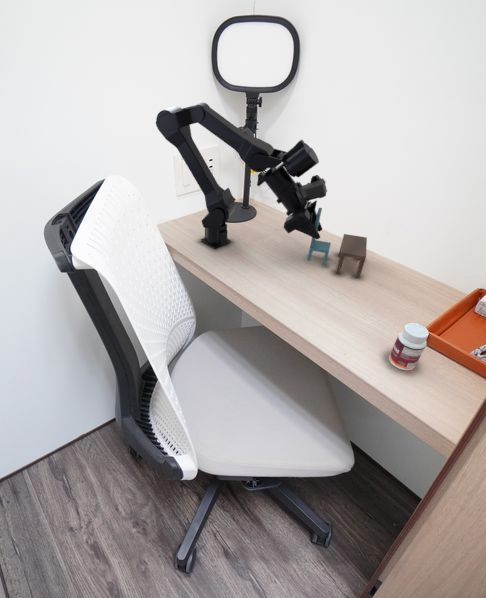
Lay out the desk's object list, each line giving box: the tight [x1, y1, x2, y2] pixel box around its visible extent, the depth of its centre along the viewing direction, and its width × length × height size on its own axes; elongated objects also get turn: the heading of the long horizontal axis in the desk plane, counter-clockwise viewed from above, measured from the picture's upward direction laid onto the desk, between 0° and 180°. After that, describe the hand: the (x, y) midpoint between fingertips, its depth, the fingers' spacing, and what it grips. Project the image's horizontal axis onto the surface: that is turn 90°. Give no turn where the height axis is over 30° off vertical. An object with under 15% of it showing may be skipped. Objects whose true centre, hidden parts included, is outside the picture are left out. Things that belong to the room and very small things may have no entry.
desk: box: [335, 233, 368, 279], centre depth 96 cm, size 6×11×6 cm, turn 160°
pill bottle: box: [388, 322, 430, 371], centre depth 67 cm, size 5×5×8 cm
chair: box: [307, 207, 331, 265], centre depth 96 cm, size 5×5×14 cm
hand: (319, 234), depth 96 cm, fingers closed on chair, 4 cm apart
